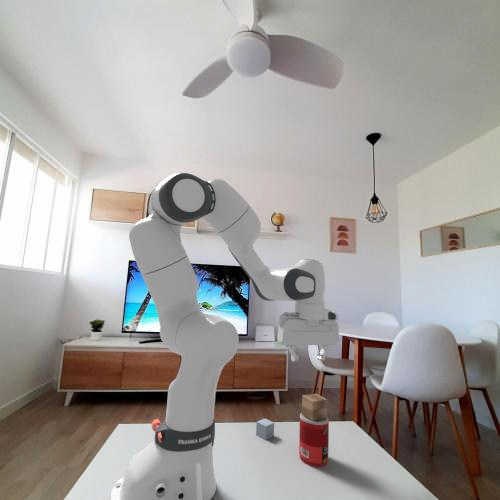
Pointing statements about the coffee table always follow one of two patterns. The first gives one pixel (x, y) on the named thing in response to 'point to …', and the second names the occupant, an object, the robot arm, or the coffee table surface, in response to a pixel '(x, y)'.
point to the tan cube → (314, 407)
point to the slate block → (265, 429)
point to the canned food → (313, 441)
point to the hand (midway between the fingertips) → (308, 360)
